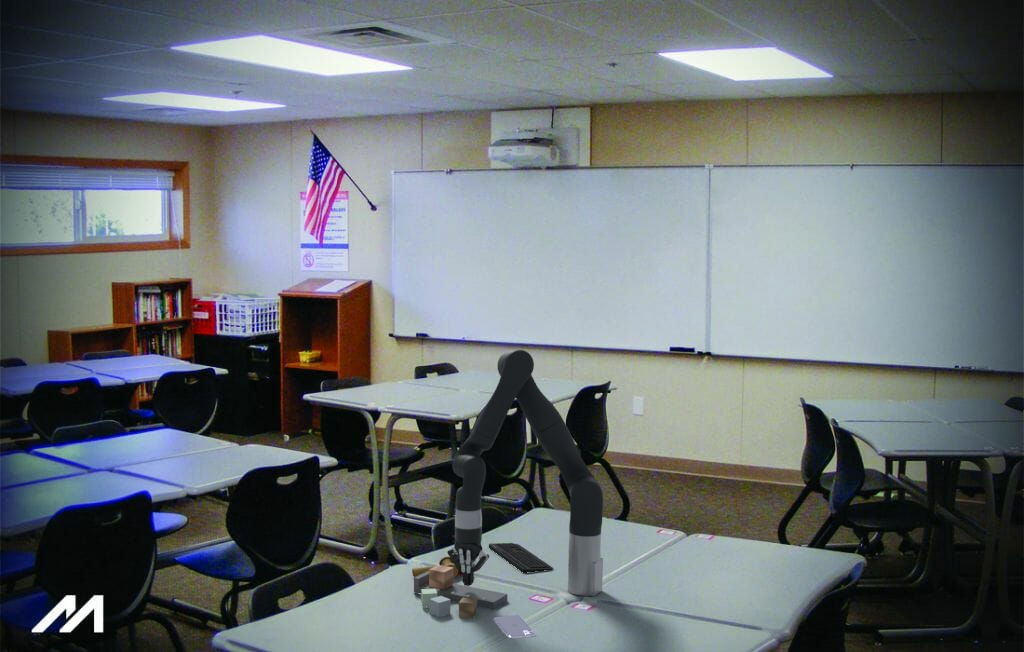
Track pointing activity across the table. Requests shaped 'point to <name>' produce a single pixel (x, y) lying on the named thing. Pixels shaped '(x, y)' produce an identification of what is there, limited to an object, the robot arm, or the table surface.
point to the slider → (441, 577)
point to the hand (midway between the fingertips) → (467, 584)
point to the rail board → (462, 592)
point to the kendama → (443, 561)
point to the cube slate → (439, 606)
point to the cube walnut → (468, 607)
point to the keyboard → (519, 557)
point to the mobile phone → (514, 626)
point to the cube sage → (427, 596)
